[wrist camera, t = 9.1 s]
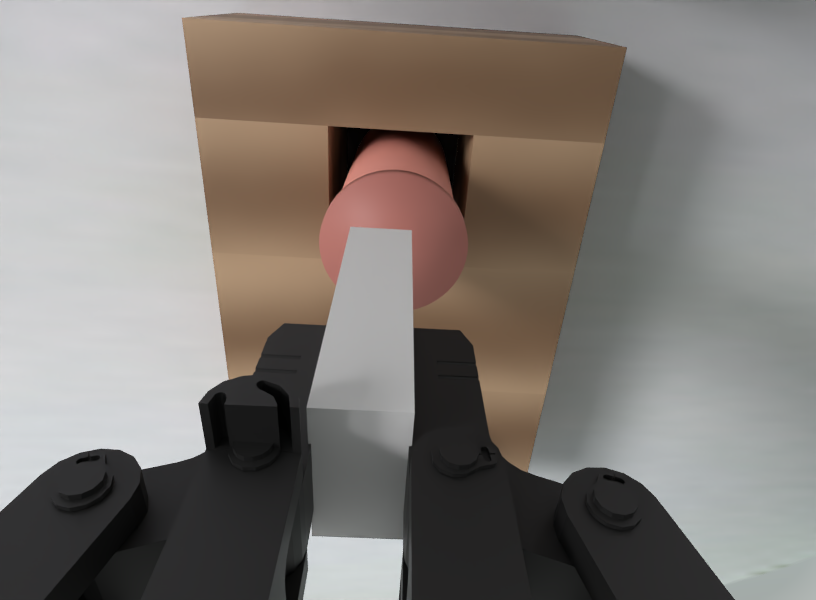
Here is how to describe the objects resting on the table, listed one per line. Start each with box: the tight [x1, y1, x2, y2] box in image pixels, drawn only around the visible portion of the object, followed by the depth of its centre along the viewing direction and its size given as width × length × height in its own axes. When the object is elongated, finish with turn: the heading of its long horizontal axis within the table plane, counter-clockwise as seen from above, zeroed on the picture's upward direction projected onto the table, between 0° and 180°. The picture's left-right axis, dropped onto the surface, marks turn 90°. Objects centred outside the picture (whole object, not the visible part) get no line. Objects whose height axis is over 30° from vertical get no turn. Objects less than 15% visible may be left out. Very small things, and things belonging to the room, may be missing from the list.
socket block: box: [182, 13, 627, 472], centre depth 25 cm, size 22×14×6 cm, turn 177°
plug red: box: [319, 129, 468, 310], centre depth 20 cm, size 4×4×9 cm
